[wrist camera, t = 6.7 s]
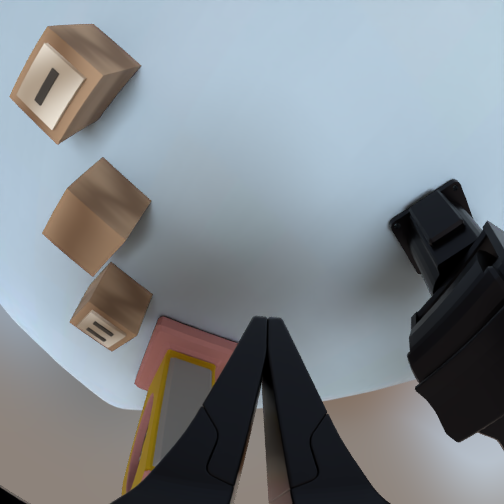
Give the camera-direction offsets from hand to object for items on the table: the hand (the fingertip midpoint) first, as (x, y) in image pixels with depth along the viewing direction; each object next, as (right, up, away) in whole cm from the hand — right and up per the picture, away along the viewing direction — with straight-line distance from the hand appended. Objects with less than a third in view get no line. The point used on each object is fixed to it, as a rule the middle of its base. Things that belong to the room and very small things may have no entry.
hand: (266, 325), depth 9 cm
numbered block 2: (-13, -1, +19) cm, 23 cm away
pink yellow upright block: (-9, -11, +26) cm, 30 cm away
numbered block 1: (-11, +14, +7) cm, 19 cm away
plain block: (-11, +6, +13) cm, 18 cm away
